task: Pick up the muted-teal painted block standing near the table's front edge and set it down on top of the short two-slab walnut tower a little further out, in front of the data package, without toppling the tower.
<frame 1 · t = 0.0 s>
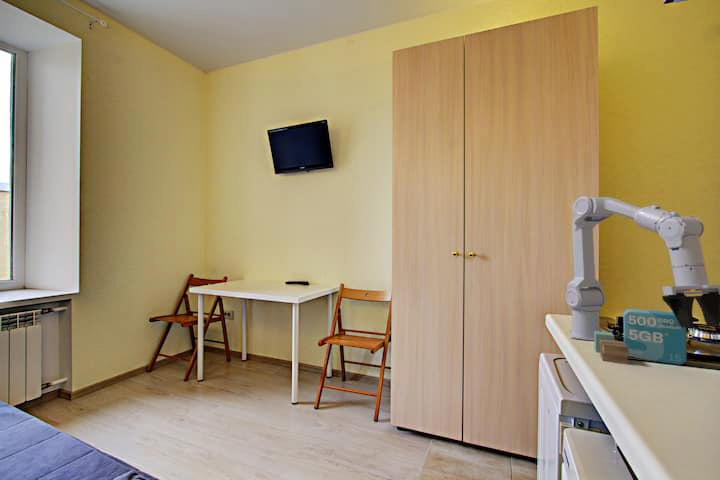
hand: (700, 326, 80), 11 cm above the counter, tool pointing down, fingers open, 7 cm apart
walnut slab upper: (613, 352, 89), point 2 cm above the counter
data package: (653, 359, 90), on the counter
teal block: (604, 351, 96), on the counter
walnut slab lower: (613, 361, 89), on the counter
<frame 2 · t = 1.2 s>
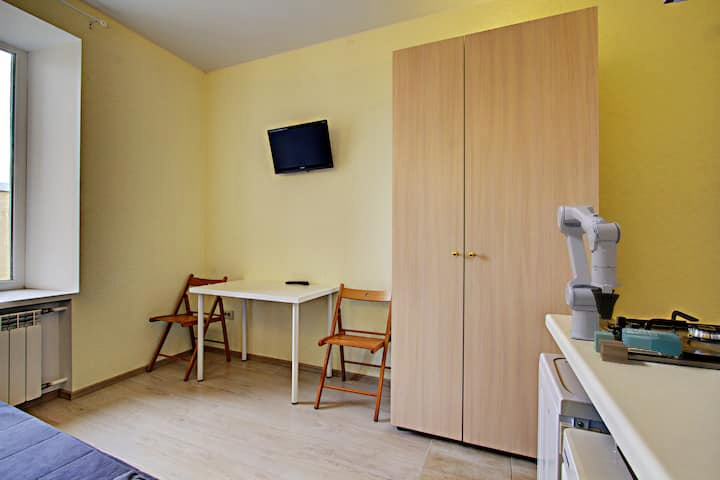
hand: (604, 316, 96), 9 cm above the counter, tool pointing down, fingers open, 7 cm apart
walnut slab upper: (612, 351, 89), point 2 cm above the counter, touching walnut slab lower
data package: (652, 347, 92), point 2 cm above the counter
walnut slab lower: (613, 361, 89), on the counter, touching walnut slab upper
everything else where it was.
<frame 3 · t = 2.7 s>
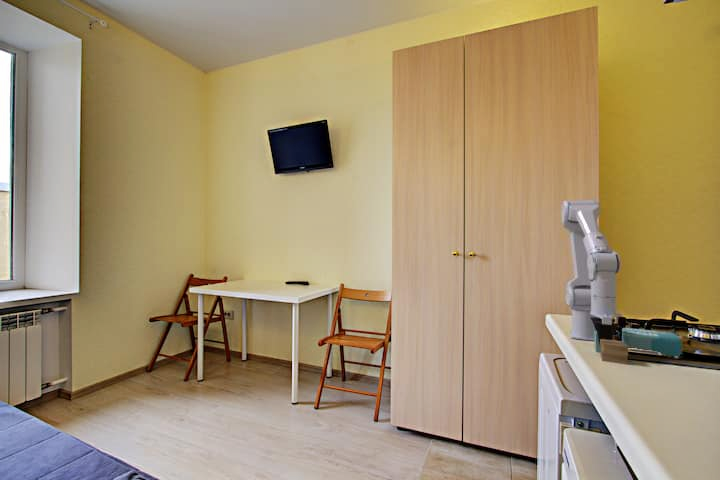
hand: (603, 346, 96), 1 cm above the counter, tool pointing down, fingers closed on teal block, 4 cm apart
walnut slab upper: (613, 351, 89), point 2 cm above the counter
teal block: (604, 351, 96), on the counter, touching gripper
walnut slab lower: (613, 360, 89), on the counter
everything else where it was.
when the fingers open (7 cm above the counter, at t = 4.8 s): teal block drops 1 cm, resting on walnut slab upper.
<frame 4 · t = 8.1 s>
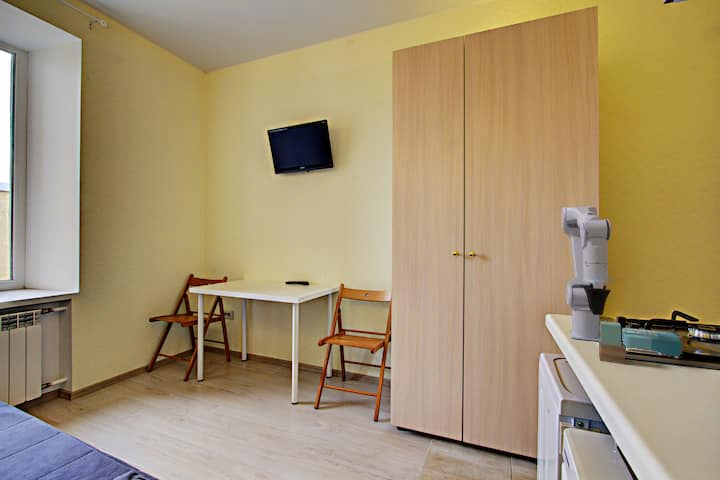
hand: (596, 312, 97), 10 cm above the counter, tool pointing down, fingers open, 7 cm apart
walnut slab upper: (612, 352, 89), point 2 cm above the counter, touching teal block, walnut slab lower
teal block: (610, 343, 89), point 4 cm above the counter, touching walnut slab upper
walnut slab lower: (611, 361, 89), on the counter, touching walnut slab upper
everything else where it was.
at the end: teal block 0.5 cm off-centre on the walnut slab upper, point 2.3 cm above the walnut slab upper's base; teal block tilted 0°; walnut slab upper moved 0.5 cm from its start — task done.
